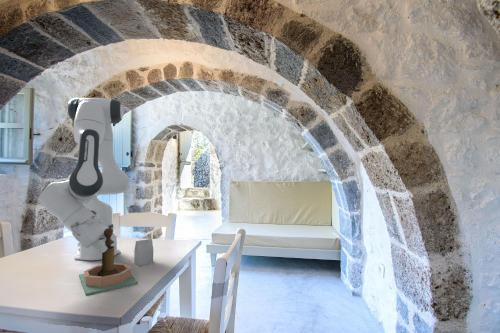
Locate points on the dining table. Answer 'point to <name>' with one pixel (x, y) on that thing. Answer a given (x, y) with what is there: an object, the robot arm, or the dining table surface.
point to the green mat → (95, 289)
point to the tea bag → (143, 252)
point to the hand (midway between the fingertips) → (109, 246)
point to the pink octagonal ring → (108, 280)
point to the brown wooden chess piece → (108, 256)
